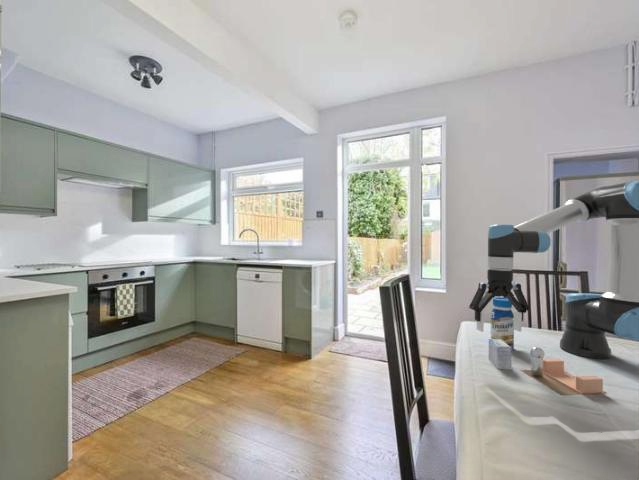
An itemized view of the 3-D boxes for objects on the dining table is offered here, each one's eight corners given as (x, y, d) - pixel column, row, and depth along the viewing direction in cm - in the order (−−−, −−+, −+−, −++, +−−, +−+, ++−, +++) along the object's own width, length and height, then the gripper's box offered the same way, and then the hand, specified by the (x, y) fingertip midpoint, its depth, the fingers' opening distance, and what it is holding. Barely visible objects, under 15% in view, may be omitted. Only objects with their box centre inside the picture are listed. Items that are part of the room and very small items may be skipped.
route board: (559, 372, 96) (559, 369, 96) (607, 397, 81) (607, 393, 81) (519, 373, 96) (519, 370, 96) (560, 398, 81) (560, 394, 81)
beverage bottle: (514, 346, 120) (514, 298, 120) (514, 352, 113) (515, 301, 113) (490, 342, 125) (490, 295, 125) (489, 348, 118) (490, 299, 118)
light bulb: (537, 373, 94) (537, 345, 94) (547, 378, 90) (547, 349, 90) (527, 373, 93) (527, 345, 93) (536, 378, 90) (536, 349, 90)
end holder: (559, 370, 95) (559, 358, 95) (604, 393, 81) (604, 379, 81) (539, 371, 95) (539, 359, 95) (580, 394, 81) (581, 379, 81)
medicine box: (511, 373, 96) (511, 347, 96) (496, 372, 97) (497, 346, 97) (501, 363, 104) (501, 339, 104) (488, 362, 105) (488, 338, 105)
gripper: (525, 268, 105) (524, 327, 105) (459, 267, 103) (458, 327, 103) (543, 270, 97) (541, 333, 97) (471, 269, 96) (470, 334, 96)
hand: (498, 330), depth 100 cm, fingers open, 13 cm apart
